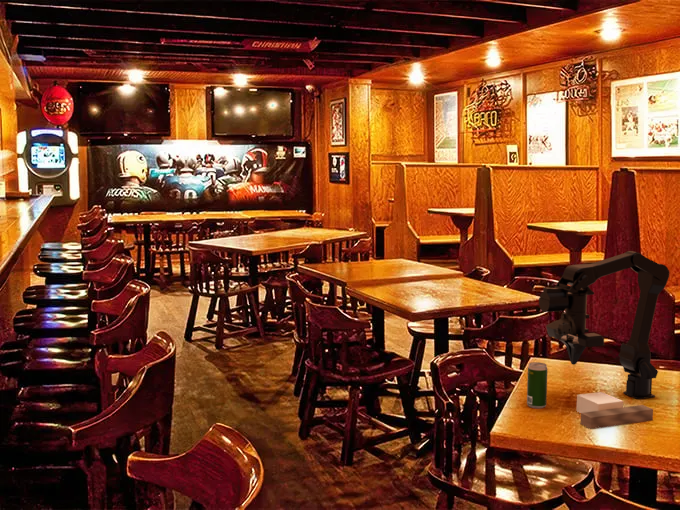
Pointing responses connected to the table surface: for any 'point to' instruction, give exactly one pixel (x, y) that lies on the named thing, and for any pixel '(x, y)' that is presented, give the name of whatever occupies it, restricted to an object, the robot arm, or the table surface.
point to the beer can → (537, 385)
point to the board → (616, 416)
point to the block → (597, 402)
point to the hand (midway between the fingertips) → (573, 364)
